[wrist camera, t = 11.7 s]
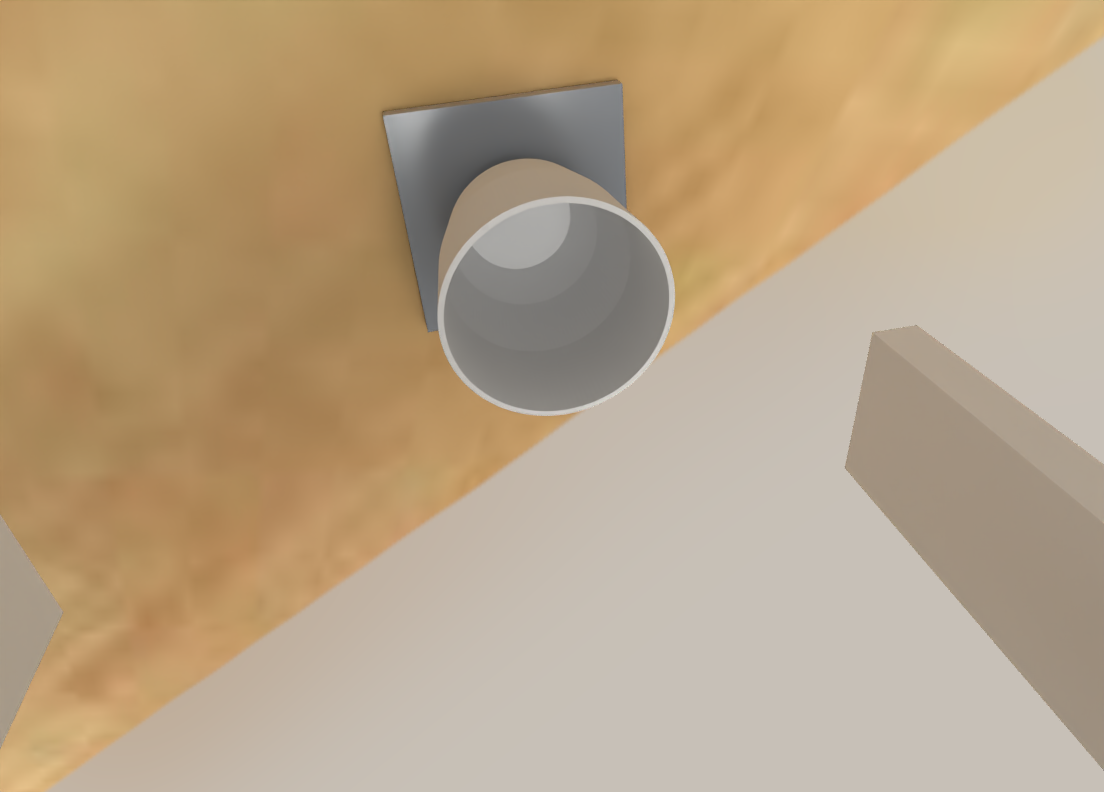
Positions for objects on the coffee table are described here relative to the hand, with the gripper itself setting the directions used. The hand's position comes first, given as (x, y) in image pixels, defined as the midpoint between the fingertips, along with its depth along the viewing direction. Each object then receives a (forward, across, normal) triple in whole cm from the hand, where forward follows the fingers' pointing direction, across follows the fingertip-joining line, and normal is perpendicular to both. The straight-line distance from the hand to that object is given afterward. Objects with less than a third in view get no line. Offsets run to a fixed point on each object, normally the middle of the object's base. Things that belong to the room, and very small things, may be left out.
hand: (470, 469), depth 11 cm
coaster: (+24, +4, -4) cm, 24 cm away
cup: (+23, +4, -4) cm, 24 cm away
